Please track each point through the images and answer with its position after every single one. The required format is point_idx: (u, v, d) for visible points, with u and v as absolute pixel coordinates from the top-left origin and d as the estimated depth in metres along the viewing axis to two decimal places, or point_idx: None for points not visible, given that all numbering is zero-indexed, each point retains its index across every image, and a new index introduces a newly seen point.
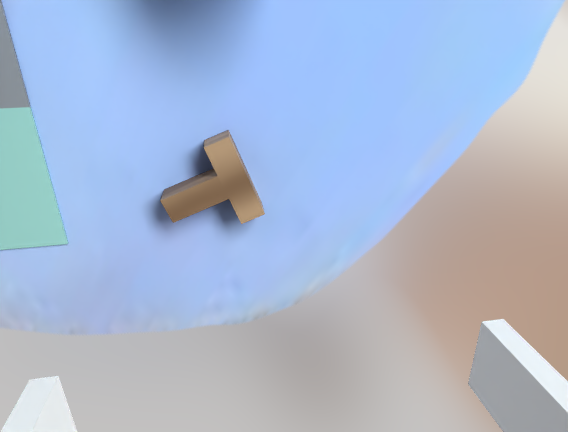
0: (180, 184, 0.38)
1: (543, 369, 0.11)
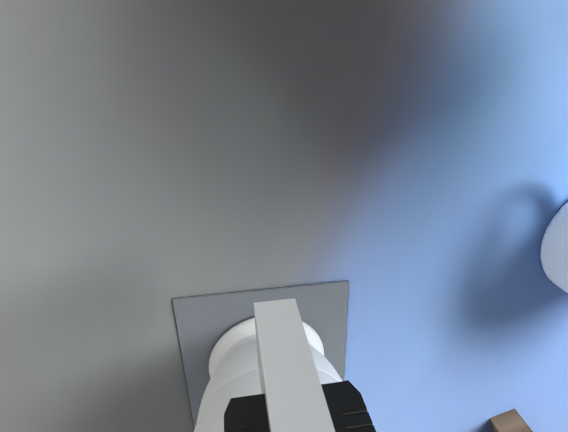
0: None
1: (297, 340, 0.12)
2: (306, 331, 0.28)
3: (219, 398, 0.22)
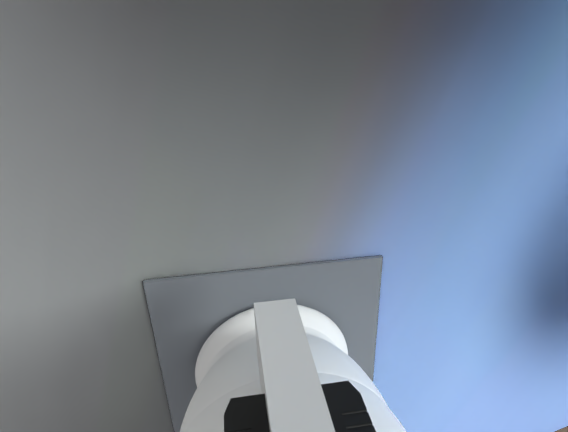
0: None
1: (297, 340, 0.12)
2: (325, 325, 0.20)
3: (204, 424, 0.14)
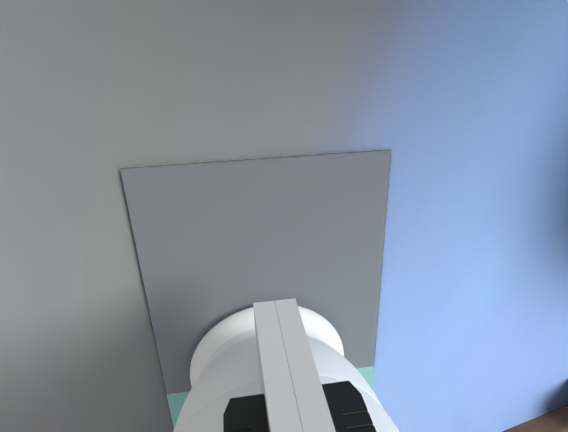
0: (528, 431, 0.28)
1: (297, 339, 0.12)
2: (323, 327, 0.20)
3: (200, 424, 0.14)
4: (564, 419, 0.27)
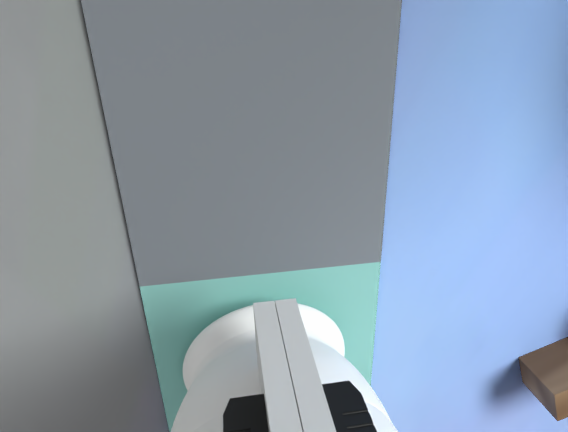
0: (551, 353, 0.25)
1: (298, 339, 0.12)
2: (324, 325, 0.19)
3: None
4: None
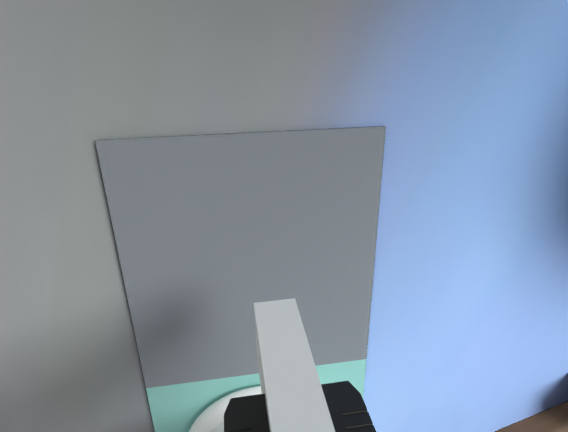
0: (525, 429, 0.27)
1: (297, 339, 0.12)
2: None
3: None
4: (562, 416, 0.27)
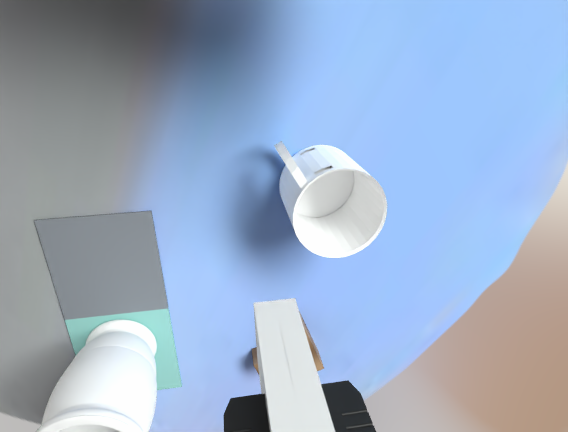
0: None
1: (297, 340, 0.12)
2: (140, 329, 0.48)
3: (73, 362, 0.42)
4: None
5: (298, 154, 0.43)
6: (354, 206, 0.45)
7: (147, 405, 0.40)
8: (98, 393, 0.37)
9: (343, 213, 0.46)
